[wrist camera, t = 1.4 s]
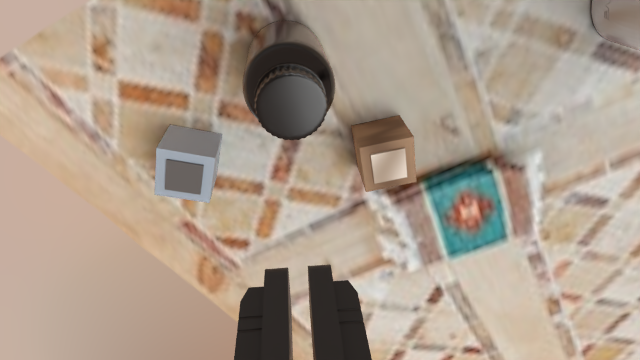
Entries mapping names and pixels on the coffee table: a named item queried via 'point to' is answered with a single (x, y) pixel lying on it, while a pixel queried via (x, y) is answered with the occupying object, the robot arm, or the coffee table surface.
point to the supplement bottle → (288, 80)
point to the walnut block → (384, 153)
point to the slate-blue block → (187, 163)
